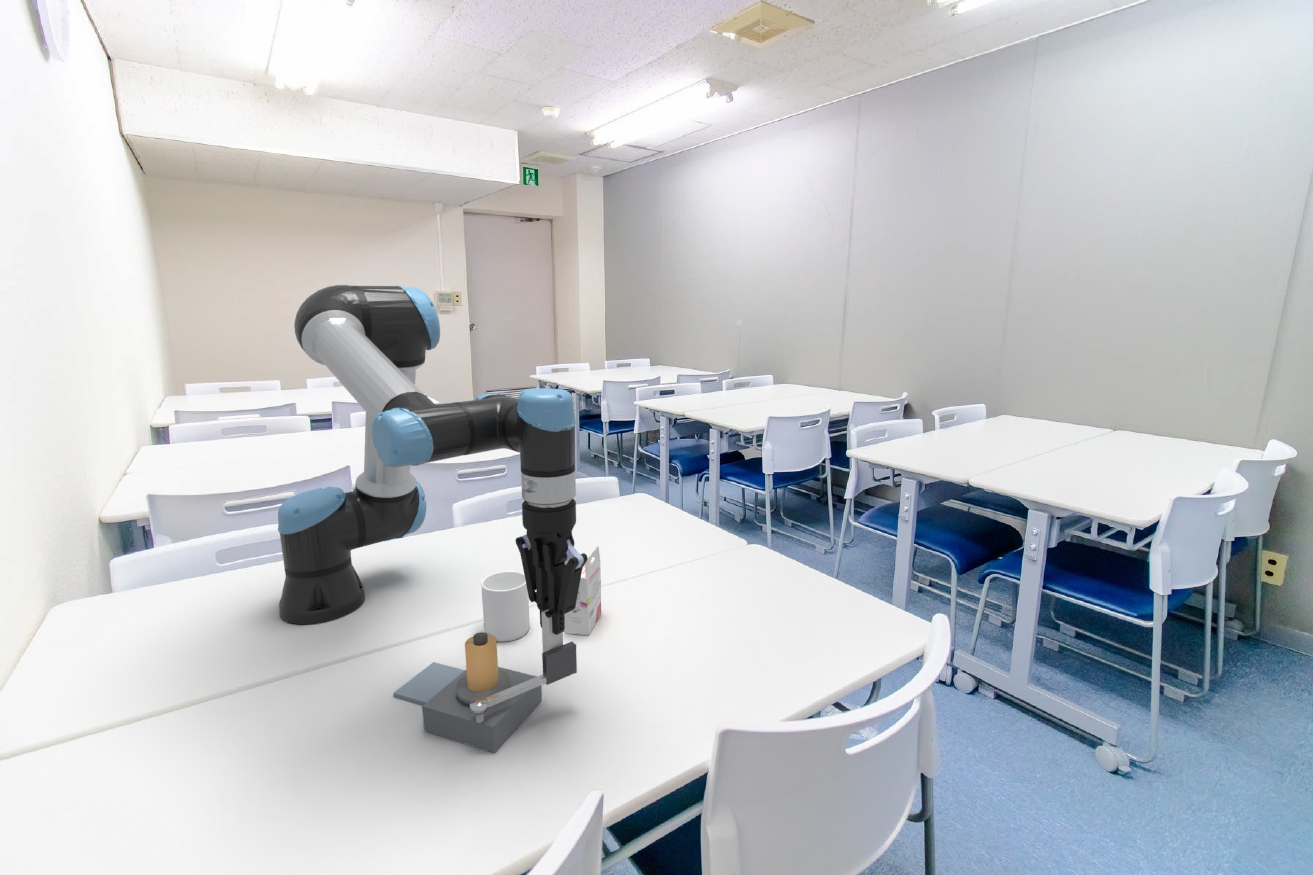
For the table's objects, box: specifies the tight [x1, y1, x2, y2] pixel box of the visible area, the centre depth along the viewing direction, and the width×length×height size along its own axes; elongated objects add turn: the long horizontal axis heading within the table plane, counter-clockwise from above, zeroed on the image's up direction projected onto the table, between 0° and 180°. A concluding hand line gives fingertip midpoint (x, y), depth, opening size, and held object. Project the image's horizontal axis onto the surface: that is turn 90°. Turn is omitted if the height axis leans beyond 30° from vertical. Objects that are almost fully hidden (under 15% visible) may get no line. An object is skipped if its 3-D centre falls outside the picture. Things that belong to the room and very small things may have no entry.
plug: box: [456, 631, 510, 705], centre depth 88 cm, size 8×8×13 cm
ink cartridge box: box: [564, 545, 602, 636], centre depth 114 cm, size 9×5×15 cm, turn 168°
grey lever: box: [470, 641, 578, 715], centre depth 86 cm, size 2×16×5 cm, turn 129°
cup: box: [480, 570, 531, 643], centre depth 114 cm, size 8×12×10 cm
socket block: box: [421, 666, 543, 754], centre depth 89 cm, size 12×12×5 cm
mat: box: [392, 661, 466, 706], centre depth 96 cm, size 9×9×1 cm
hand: (553, 649), depth 90 cm, fingers closed
